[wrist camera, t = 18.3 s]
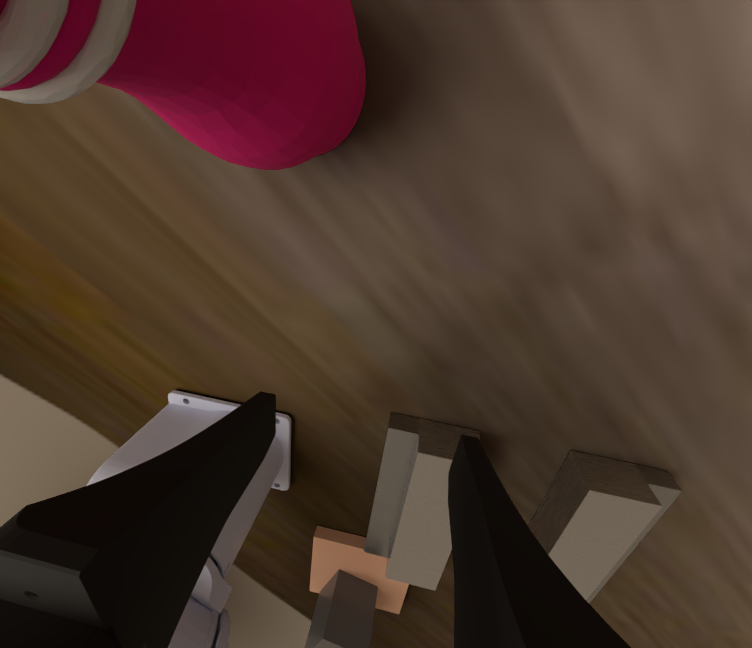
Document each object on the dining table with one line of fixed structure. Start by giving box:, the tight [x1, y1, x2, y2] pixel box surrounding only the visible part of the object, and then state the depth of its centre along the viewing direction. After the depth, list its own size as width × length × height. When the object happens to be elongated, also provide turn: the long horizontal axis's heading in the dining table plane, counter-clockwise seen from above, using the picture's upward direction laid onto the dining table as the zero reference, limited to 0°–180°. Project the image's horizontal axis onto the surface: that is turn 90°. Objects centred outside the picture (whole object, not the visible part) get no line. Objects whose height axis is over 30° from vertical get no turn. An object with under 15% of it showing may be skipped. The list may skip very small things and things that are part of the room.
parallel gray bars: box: [364, 412, 682, 603], centre depth 24 cm, size 18×14×3 cm
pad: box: [310, 526, 409, 614], centre depth 31 cm, size 9×9×1 cm
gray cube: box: [305, 569, 378, 648], centre depth 29 cm, size 4×5×5 cm
